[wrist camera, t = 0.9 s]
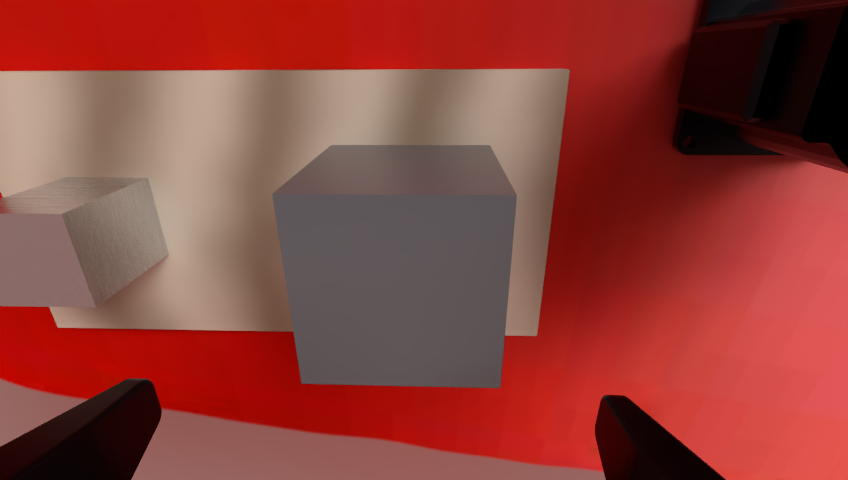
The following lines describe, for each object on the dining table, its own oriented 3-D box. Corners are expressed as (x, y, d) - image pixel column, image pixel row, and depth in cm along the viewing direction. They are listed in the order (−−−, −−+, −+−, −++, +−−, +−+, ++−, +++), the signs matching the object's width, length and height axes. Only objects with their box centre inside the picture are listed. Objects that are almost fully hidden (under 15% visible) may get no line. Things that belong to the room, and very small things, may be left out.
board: (562, 68, 17) (569, 69, 16) (532, 324, 21) (537, 336, 21) (-25, 71, 18) (-51, 72, 17) (73, 316, 22) (57, 327, 21)
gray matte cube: (489, 145, 17) (517, 195, 11) (481, 284, 20) (500, 388, 13) (331, 144, 17) (271, 193, 11) (343, 282, 20) (301, 383, 14)
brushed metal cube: (148, 177, 18) (61, 214, 14) (168, 253, 19) (96, 307, 15) (66, 177, 18) (-44, 213, 14) (93, 253, 20) (0, 305, 15)
